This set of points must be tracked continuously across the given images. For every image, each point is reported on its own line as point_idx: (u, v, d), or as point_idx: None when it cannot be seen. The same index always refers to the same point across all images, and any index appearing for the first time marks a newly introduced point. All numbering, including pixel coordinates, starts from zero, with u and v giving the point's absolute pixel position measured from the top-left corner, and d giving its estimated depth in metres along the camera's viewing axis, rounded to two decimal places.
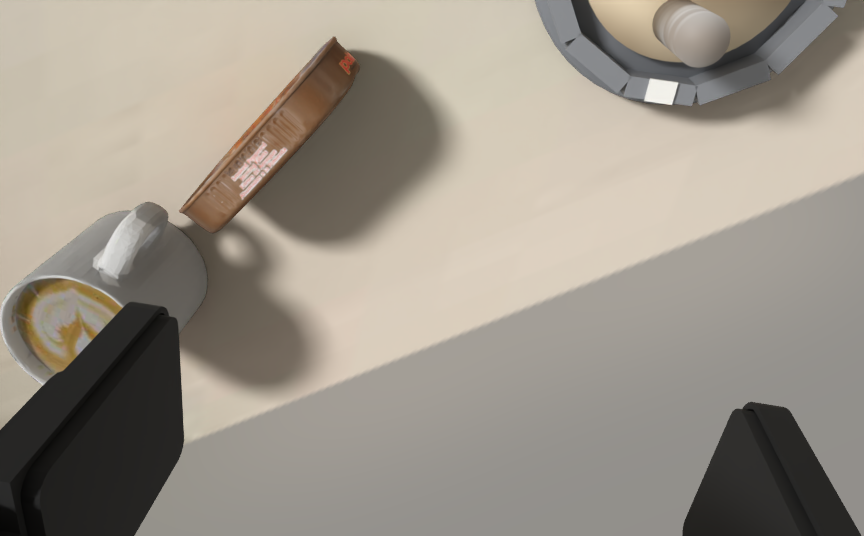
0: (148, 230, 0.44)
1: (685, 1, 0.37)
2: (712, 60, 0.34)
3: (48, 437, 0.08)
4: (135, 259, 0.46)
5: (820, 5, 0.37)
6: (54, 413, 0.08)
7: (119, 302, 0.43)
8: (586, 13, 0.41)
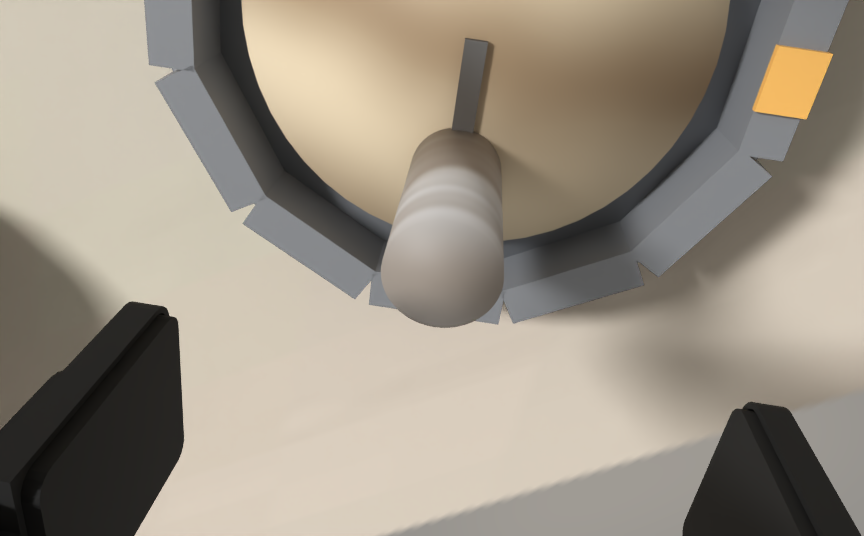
0: None
1: (451, 147, 0.18)
2: (471, 314, 0.15)
3: (48, 438, 0.08)
4: None
5: (735, 155, 0.18)
6: (54, 413, 0.08)
7: None
8: None
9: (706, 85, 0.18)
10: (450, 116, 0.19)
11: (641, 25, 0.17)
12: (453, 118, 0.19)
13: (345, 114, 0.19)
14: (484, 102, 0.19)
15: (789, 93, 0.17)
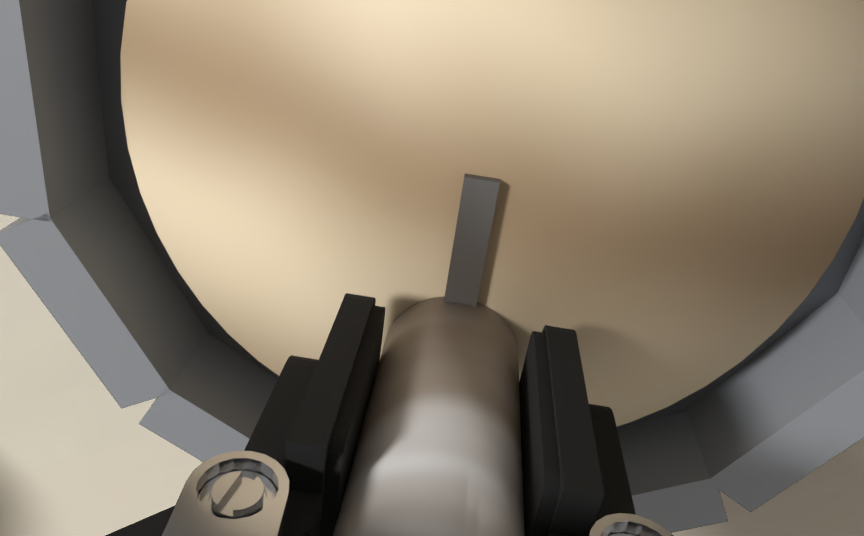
0: None
1: (442, 346, 0.11)
2: None
3: (337, 411, 0.09)
4: None
5: None
6: (331, 390, 0.10)
7: None
8: None
9: (836, 247, 0.12)
10: (441, 281, 0.13)
11: (740, 160, 0.11)
12: (446, 285, 0.13)
13: (287, 275, 0.13)
14: (492, 262, 0.12)
15: None
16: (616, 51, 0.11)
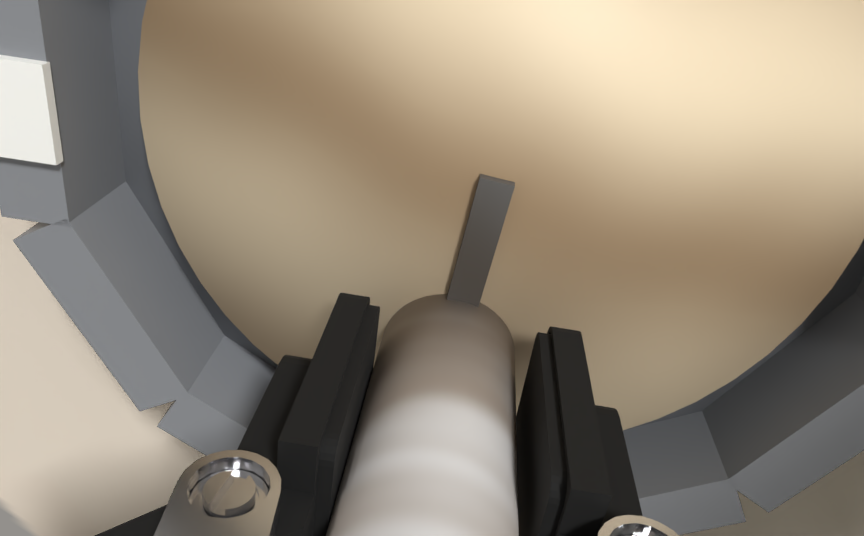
0: None
1: (445, 344, 0.11)
2: None
3: (330, 409, 0.09)
4: None
5: None
6: (324, 389, 0.10)
7: None
8: None
9: (836, 276, 0.12)
10: (446, 278, 0.13)
11: (753, 184, 0.11)
12: (451, 283, 0.13)
13: (291, 260, 0.13)
14: (498, 265, 0.12)
15: None
16: (643, 65, 0.11)
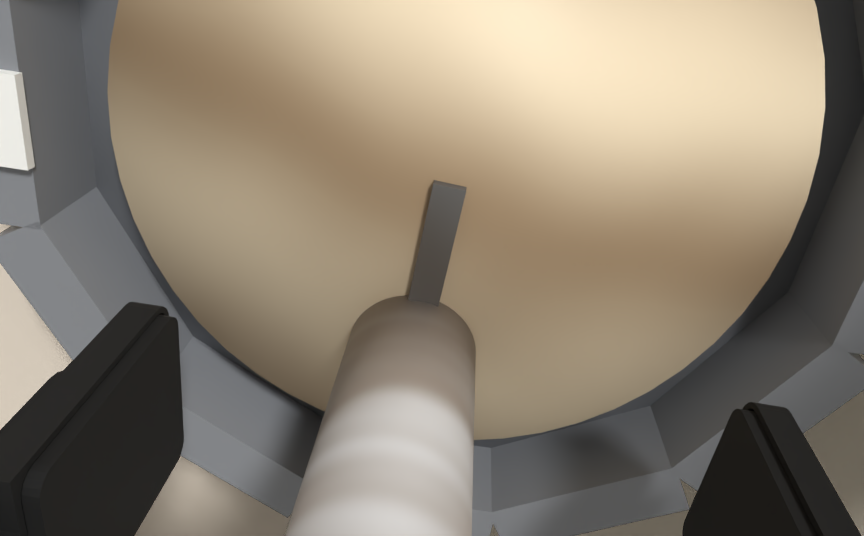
0: None
1: (404, 341, 0.12)
2: None
3: (48, 437, 0.08)
4: None
5: None
6: (54, 413, 0.08)
7: None
8: None
9: (771, 268, 0.13)
10: (407, 280, 0.13)
11: (688, 183, 0.12)
12: (411, 284, 0.13)
13: (259, 267, 0.13)
14: (455, 265, 0.13)
15: None
16: (579, 75, 0.11)
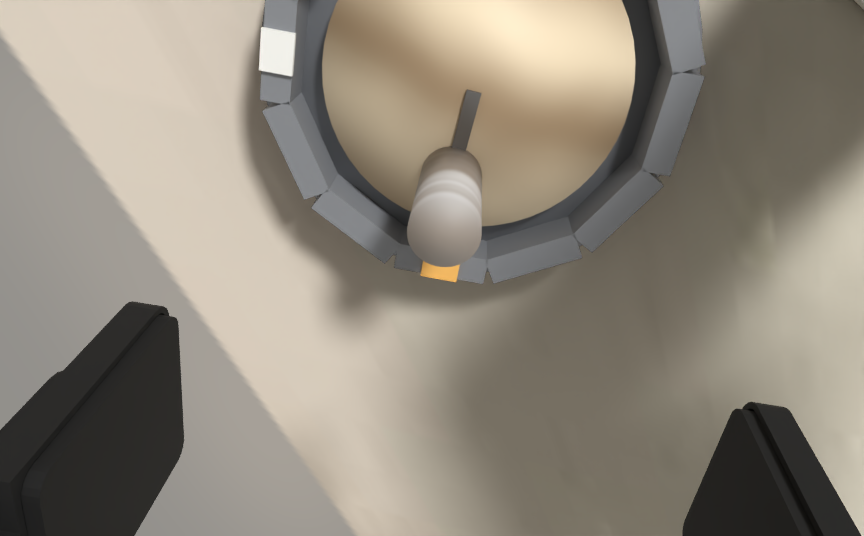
0: None
1: (452, 158, 0.27)
2: (459, 259, 0.24)
3: (48, 437, 0.08)
4: None
5: (397, 242, 0.30)
6: (54, 413, 0.08)
7: None
8: None
9: (617, 135, 0.28)
10: (451, 138, 0.29)
11: (579, 93, 0.27)
12: (453, 140, 0.28)
13: (382, 130, 0.29)
14: (474, 131, 0.28)
15: None
16: (532, 43, 0.27)
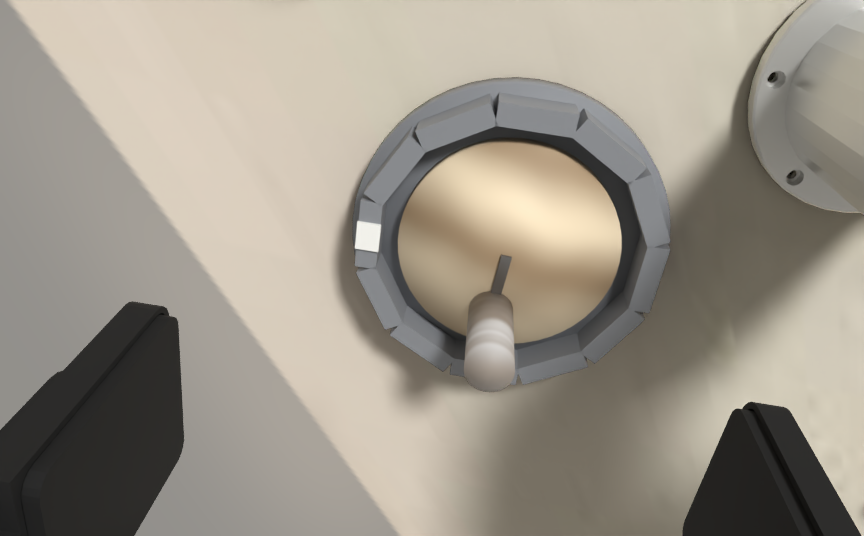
0: None
1: (492, 305, 0.38)
2: (499, 387, 0.35)
3: (48, 437, 0.08)
4: None
5: (452, 357, 0.41)
6: (54, 413, 0.08)
7: None
8: (444, 148, 0.37)
9: (610, 283, 0.39)
10: (490, 286, 0.40)
11: (582, 256, 0.38)
12: (492, 287, 0.40)
13: (440, 281, 0.40)
14: (507, 281, 0.39)
15: None
16: (547, 225, 0.38)
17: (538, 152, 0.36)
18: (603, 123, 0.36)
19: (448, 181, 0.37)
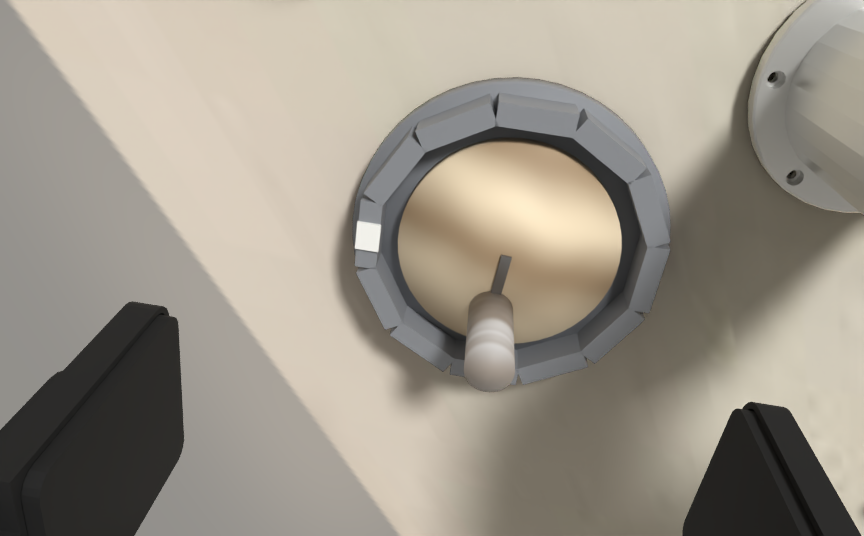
0: None
1: (492, 305, 0.38)
2: (499, 387, 0.35)
3: (48, 437, 0.08)
4: None
5: (452, 357, 0.41)
6: (54, 413, 0.08)
7: None
8: (444, 148, 0.37)
9: (610, 283, 0.39)
10: (490, 286, 0.40)
11: (582, 256, 0.38)
12: (492, 287, 0.40)
13: (440, 281, 0.40)
14: (507, 281, 0.39)
15: None
16: (547, 225, 0.38)
17: (538, 152, 0.36)
18: (603, 123, 0.36)
19: (448, 181, 0.37)
